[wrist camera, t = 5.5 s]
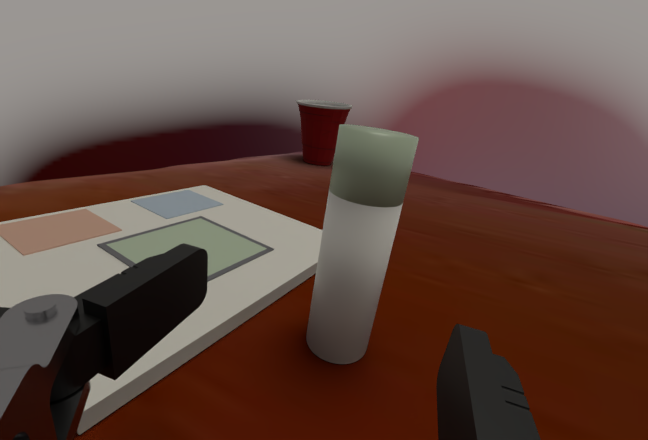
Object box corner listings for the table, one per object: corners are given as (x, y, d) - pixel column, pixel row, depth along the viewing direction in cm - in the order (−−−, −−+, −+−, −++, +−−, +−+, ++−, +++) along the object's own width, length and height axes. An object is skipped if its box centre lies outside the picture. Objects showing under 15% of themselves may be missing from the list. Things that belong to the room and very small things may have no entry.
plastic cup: (279, 156, 66) (285, 94, 62) (317, 155, 73) (325, 100, 69) (314, 170, 59) (324, 101, 55) (352, 167, 67) (363, 107, 62)
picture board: (348, 250, 30) (350, 240, 30) (79, 435, 12) (75, 414, 12) (204, 193, 39) (204, 184, 39) (-73, 250, 21) (-78, 234, 21)
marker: (376, 337, 20) (428, 137, 15) (349, 375, 17) (403, 140, 12) (326, 312, 21) (360, 124, 17) (293, 342, 18) (324, 124, 14)
